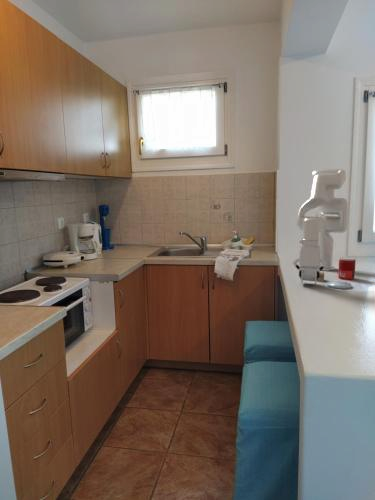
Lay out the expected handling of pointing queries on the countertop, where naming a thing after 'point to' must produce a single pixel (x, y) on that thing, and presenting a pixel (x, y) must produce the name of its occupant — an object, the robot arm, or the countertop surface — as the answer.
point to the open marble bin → (309, 274)
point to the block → (321, 276)
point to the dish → (339, 285)
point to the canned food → (346, 268)
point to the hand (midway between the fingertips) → (309, 278)
